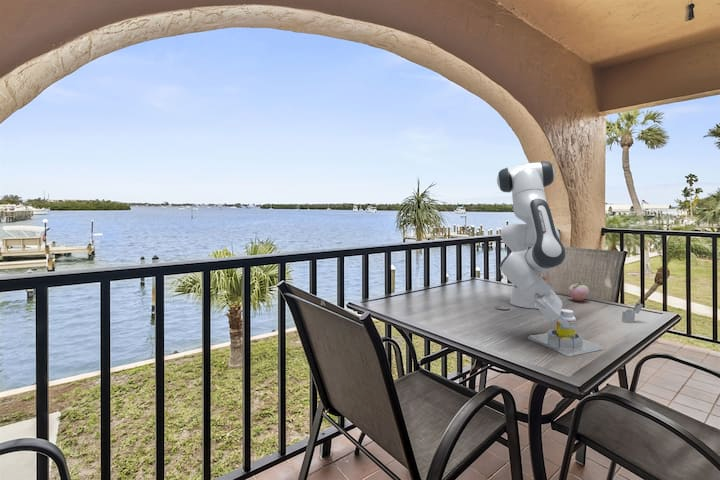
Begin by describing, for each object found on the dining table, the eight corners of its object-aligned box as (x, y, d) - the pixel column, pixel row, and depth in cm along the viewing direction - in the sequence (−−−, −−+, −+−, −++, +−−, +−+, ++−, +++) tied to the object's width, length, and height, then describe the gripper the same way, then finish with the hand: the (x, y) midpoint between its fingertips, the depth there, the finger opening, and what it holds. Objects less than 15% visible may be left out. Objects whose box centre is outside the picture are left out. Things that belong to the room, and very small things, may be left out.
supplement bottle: (559, 335, 124) (560, 307, 124) (577, 339, 120) (578, 310, 119) (553, 339, 121) (554, 310, 120) (571, 343, 116) (573, 313, 116)
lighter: (624, 322, 144) (626, 303, 143) (621, 321, 145) (623, 302, 145) (641, 322, 144) (643, 303, 143) (638, 321, 146) (640, 302, 145)
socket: (560, 333, 132) (561, 322, 131) (603, 349, 117) (604, 337, 116) (528, 338, 126) (528, 327, 126) (568, 356, 111) (569, 344, 111)
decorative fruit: (574, 298, 181) (575, 279, 180) (591, 301, 174) (592, 282, 173) (564, 300, 176) (565, 281, 175) (581, 304, 169) (582, 284, 168)
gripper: (541, 291, 114) (575, 326, 109) (547, 281, 131) (576, 310, 127) (526, 303, 117) (558, 337, 112) (533, 291, 134) (562, 320, 129)
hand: (568, 323), depth 120 cm, fingers closed on supplement bottle, 6 cm apart
